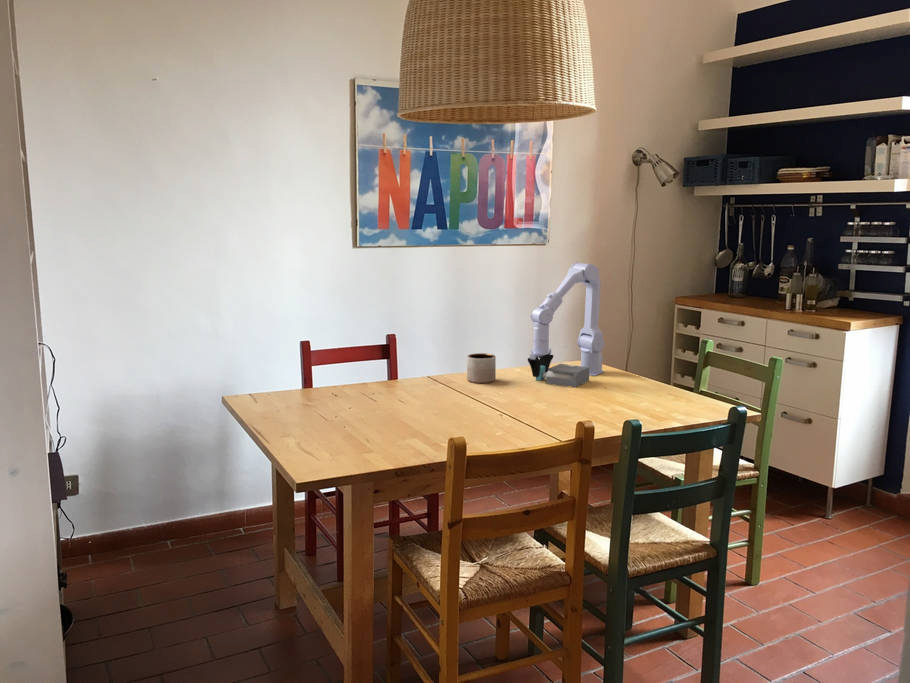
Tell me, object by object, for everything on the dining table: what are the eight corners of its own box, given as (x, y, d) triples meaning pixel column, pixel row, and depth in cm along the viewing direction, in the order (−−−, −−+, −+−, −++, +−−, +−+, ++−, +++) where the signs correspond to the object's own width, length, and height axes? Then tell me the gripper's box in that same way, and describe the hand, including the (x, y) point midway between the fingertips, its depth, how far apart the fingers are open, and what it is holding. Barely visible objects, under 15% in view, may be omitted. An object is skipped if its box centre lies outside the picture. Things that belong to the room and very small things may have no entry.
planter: (498, 383, 297) (499, 358, 295) (470, 384, 295) (470, 359, 293) (491, 377, 307) (491, 352, 306) (464, 378, 305) (464, 353, 303)
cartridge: (540, 378, 304) (540, 365, 304) (577, 382, 296) (578, 369, 295) (535, 380, 301) (535, 367, 300) (573, 385, 293) (573, 371, 292)
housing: (559, 377, 307) (560, 363, 306) (588, 381, 300) (589, 367, 299) (545, 383, 296) (546, 369, 295) (575, 387, 290) (576, 373, 289)
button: (570, 371, 302) (570, 364, 302) (576, 371, 301) (576, 365, 301) (567, 372, 300) (567, 365, 300) (573, 372, 299) (573, 366, 299)
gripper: (539, 336, 308) (539, 370, 310) (522, 341, 296) (522, 377, 298) (556, 337, 304) (555, 372, 306) (540, 343, 292) (539, 379, 294)
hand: (540, 375), depth 302 cm, fingers open, 7 cm apart
